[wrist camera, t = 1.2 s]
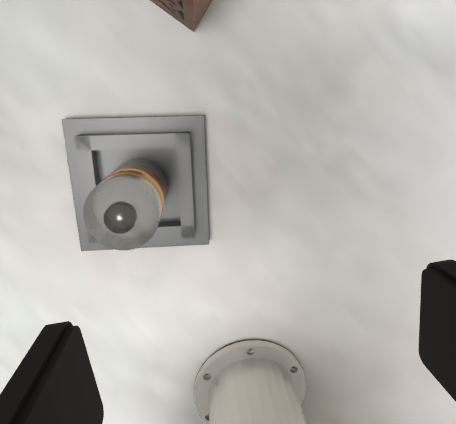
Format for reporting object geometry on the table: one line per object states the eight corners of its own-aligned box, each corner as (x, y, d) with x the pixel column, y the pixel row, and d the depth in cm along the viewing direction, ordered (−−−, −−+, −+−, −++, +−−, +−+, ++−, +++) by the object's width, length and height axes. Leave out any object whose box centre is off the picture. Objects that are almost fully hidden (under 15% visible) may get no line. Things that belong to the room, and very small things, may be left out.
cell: (170, 211, 34) (161, 253, 25) (114, 214, 34) (84, 257, 24) (166, 156, 33) (155, 179, 23) (108, 158, 32) (73, 182, 23)
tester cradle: (208, 240, 36) (209, 250, 34) (84, 246, 35) (76, 257, 33) (203, 115, 33) (204, 116, 31) (65, 118, 32) (55, 120, 30)
